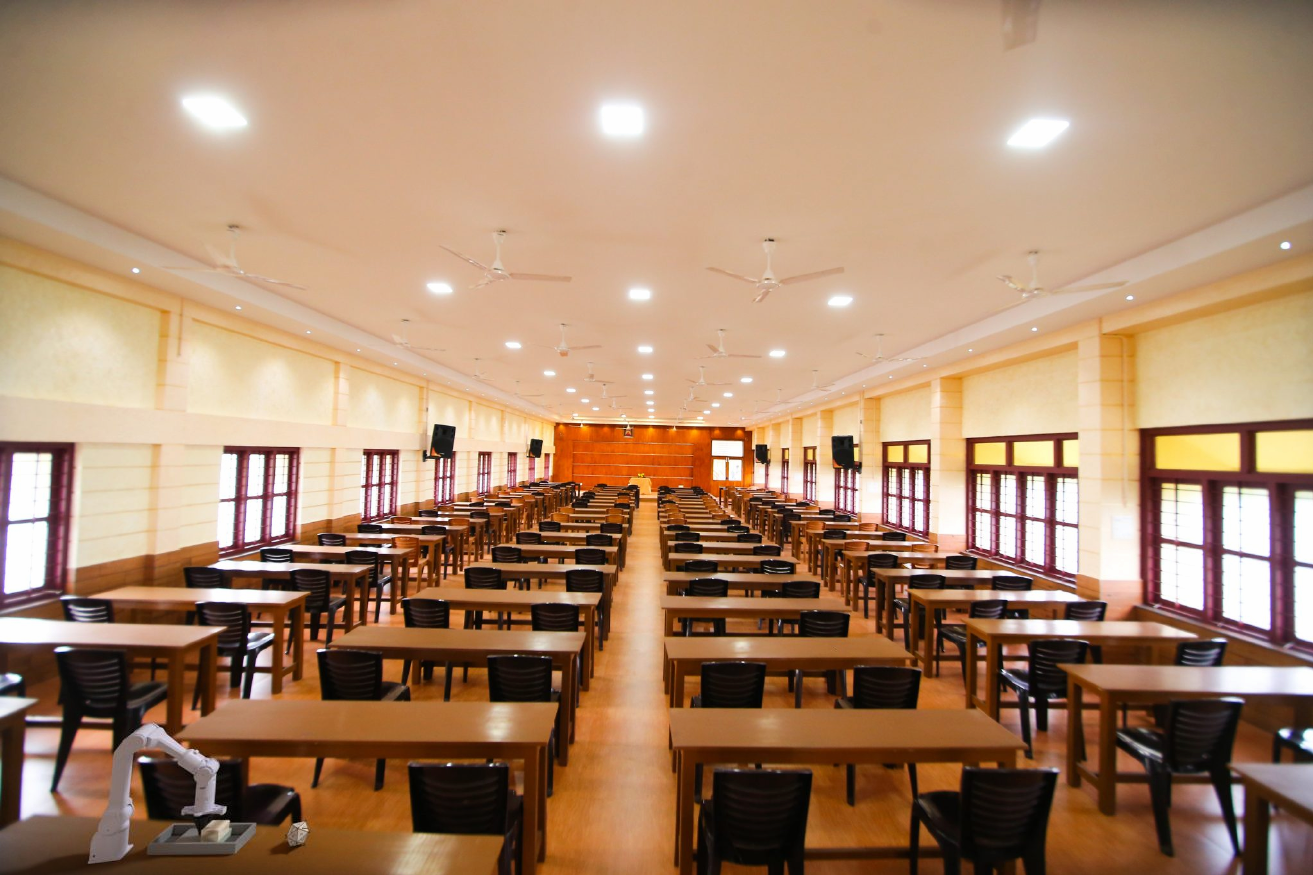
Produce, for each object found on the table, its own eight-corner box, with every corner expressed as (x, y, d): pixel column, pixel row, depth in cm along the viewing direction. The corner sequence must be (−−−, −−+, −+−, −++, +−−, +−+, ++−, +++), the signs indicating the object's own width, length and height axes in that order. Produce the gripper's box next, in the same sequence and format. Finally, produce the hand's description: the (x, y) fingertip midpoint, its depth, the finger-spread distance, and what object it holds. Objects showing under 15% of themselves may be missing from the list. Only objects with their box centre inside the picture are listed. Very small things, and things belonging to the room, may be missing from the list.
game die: (298, 857, 212) (299, 844, 207) (278, 847, 212) (278, 834, 207) (316, 832, 220) (317, 819, 215) (296, 822, 220) (297, 810, 215)
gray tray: (146, 854, 205) (147, 844, 205) (172, 833, 217) (173, 823, 217) (234, 854, 207) (235, 843, 207) (255, 832, 219) (256, 822, 219)
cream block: (200, 841, 209) (201, 830, 209) (212, 831, 215) (212, 820, 215) (217, 841, 210) (218, 830, 210) (228, 831, 216) (229, 820, 216)
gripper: (176, 802, 208) (173, 840, 208) (218, 802, 209) (215, 840, 209) (190, 791, 215) (187, 828, 215) (231, 791, 216) (228, 828, 216)
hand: (202, 833), depth 212 cm, fingers closed
